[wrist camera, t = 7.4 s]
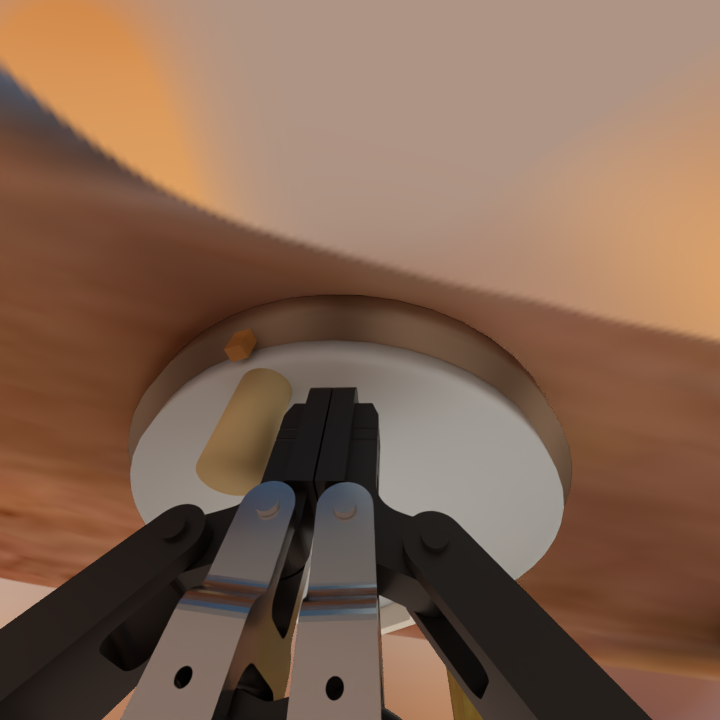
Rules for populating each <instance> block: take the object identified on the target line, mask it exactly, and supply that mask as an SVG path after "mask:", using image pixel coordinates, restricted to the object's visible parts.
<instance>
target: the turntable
mask: <svg viewBox="0 0 720 720" xmlns="http://www.w3.org/2000/svg"><path fill="white" fill-rule="evenodd" d="M320 387H333V388H334V387H357V391H358V401H359V403H373V405H374V407H375V409H376V411H377V412H378V414H379V432H380V472H379V496H380V498H381V499H382V500H383V502H384V503H385V504H387V505H388V506H389V507H391V508H392V509H394V510H396V511H399V512H401V513H404V514H407V515H410V516H415V515H416V514H418V513H421V512H424V511H438V512H441V513H444V514H446V515H448V516H450V517H451V518H453V519H454V520H455V521H456V522H457V523H458V524H459V525H460V526H461V527H462V528H463V529H464V530H465V531H466V532H467V533H468V534H469V535H470V536H471V537H472V538H473V539H474V540H475V541H476V542H477V543H478V544H479V545H480V546H481V547H482V548H483V549H484V550H485V551H486V552H487V553H488V554H489V555H490V556H491V557H492V558H493V559H494V560H495V561H496V562H497V563H498V564H499V565H500V566H501V567H502V568H503V569H504V570H505V571H506V572H507V573H508V574H509V575H510V576H511V577H512V578H513V579H514V580H516V579H518V578H519V577H520V576H522V575H523V574H524V573H525V572H527V571H528V570H529V569H530V568H532V567H533V566H534V565H535V564H536V563H537V562H538V561H539V560H540V558H541V557H542V556H543V555H544V554H545V553H546V552H547V550H548V549H549V547H550V546H551V544H552V542H553V541H554V539H555V537H556V535H557V532H558V530H559V527H560V525H561V521H562V515H563V509H564V500H563V488H562V485H561V482H560V478H559V475H558V472H557V469H556V467H555V465H554V463H553V461H552V459H551V457H550V455H549V453H548V451H547V449H546V447H545V444H544V443H543V441H542V439H541V437H540V436H539V434H538V432H537V430H536V429H535V427H534V425H533V424H532V423H531V421H530V420H529V419H528V418H527V417H526V416H525V414H524V413H523V412H522V411H521V410H520V409H519V407H518V406H517V405H515V404H514V403H513V402H512V401H511V400H509V399H508V398H507V397H506V396H505V395H503V394H502V393H501V392H500V391H499V390H498V389H496V388H495V387H493V386H491V385H490V384H488V383H487V382H485V381H483V380H482V379H480V378H478V377H477V376H475V375H473V374H472V373H470V372H468V371H466V370H463V369H461V368H459V367H457V366H454V365H452V364H450V363H448V362H445V361H443V360H441V359H438V358H434V357H431V356H428V355H425V354H421V353H418V352H415V351H412V350H408V349H404V348H398V347H393V346H387V345H382V344H376V343H370V342H356V341H341V340H325V341H302V342H294V343H288V344H282V345H275V346H269V347H264V348H261V349H257V350H254V351H251V353H250V355H249V357H248V358H245V359H241V360H238V361H234V362H232V361H231V360H230V359H227V360H225V361H223V362H221V363H219V364H216V365H214V366H212V367H210V368H208V369H206V370H205V371H203V372H202V373H200V374H199V375H197V376H196V377H194V378H193V379H191V380H189V381H188V382H187V383H185V384H184V385H183V386H182V387H181V388H180V389H179V390H178V391H177V392H176V393H175V394H174V395H173V396H172V397H170V399H169V400H168V401H167V403H166V404H165V405H164V407H163V408H162V409H161V411H160V412H159V413H158V415H157V416H156V417H155V419H154V420H153V421H152V423H151V424H150V426H149V427H148V428H147V430H146V431H145V433H144V434H143V435H142V437H141V438H140V440H139V443H138V445H137V447H136V450H135V452H134V455H133V459H132V465H131V472H130V478H131V490H132V494H133V497H134V501H135V504H136V507H137V509H138V511H139V513H140V515H141V517H142V519H143V521H144V523H145V524H148V523H149V522H151V521H152V520H153V519H155V518H156V517H158V516H159V515H160V514H162V513H163V512H165V511H166V510H168V509H170V508H172V507H175V506H177V505H182V504H193V505H196V506H198V507H200V508H201V509H202V510H203V512H204V514H209V513H213V512H216V511H220V510H223V509H227V508H230V507H233V506H236V505H238V504H240V503H241V502H242V500H243V498H244V497H245V495H246V494H247V493H248V492H249V491H250V490H251V489H253V488H254V487H256V486H257V485H259V484H260V483H261V480H262V478H263V475H264V472H265V469H266V466H267V463H268V460H269V457H270V455H271V452H272V449H273V446H274V443H275V441H276V437H277V434H278V432H279V430H280V426H281V423H282V420H283V417H284V415H285V413H286V412H287V411H288V410H289V409H290V408H291V407H292V406H293V405H294V404H295V403H306V400H307V397H308V393H309V390H310V388H320ZM312 545H313V541H312ZM311 555H312V546H311ZM309 574H310V569H309V573H308V577H307V581H306V585H305V589H304V593H303V597H302V600H303V599H304V598H305V597H306V595H307V591H308V584H309ZM379 598H380V620H381V635H383V634H386V633H389V632H392V631H395V630H398V629H401V628H404V627H407V626H410V625H413V624H416V623H415V621H414V620H413V618H412V617H411V616H410V614H409V613H408V611H407V609H406V607H404V606H402V605H400V604H398V603H395V602H393V601H391V600H389V599H387V598H384V597H382V596H380V595H379ZM301 603H302V601H301ZM300 607H301V605H300ZM299 612H300V609H299ZM298 618H299V613H298V617H297V621H296V623H297V624H298Z"/></svg>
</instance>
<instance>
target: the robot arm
mask: <svg viewBox="0 0 720 720" xmlns="http://www.w3.org/2000/svg"><path fill="white" fill-rule="evenodd" d="M379 472H380V432H379V414H378V412H377V411H376V409H375V407H374V405H373V403H359V401H358V391H357V387H334V388H333V387H320V388H310V390H309V393H308V397H307V400H306V403H295V404H294V405H293V406H292V407H291V408H290V409H289V410H288V411H287V412H286V413H285V415H284V417H283V420H282V423H281V426H280V430H279V432H278V434H277V437H276V441H275V443H274V446H273V449H272V452H271V455H270V457H269V460H268V463H267V466H266V469H265V472H264V475H263V478H262V480H261V483H260V484H259V485H257V486H256V487H254V488H253V489H251V490H250V491H249V492H248V493H247V494H246V495H245V497H244V498H243V500H242V502H241V503H240V504H238V505H236V506H233V507H230V508H227V509H223V510H220V511H216V512H213V513H209V514H204V512H203V510H202V509H201V508H200V507H198V506H196V505H193V504H182V505H177V506H175V507H172V508H170V509H168V510H166V511H165V512H163V513H162V514H160V515H159V516H158V517H156V518H155V519H153V520H152V521H151V522H149V523H148V524H146V525H145V526H144V527H142V528H141V529H139V530H138V531H137V532H135V533H134V534H132V535H131V536H130V537H128V538H127V539H125V540H124V541H123V542H121V543H120V544H119V545H117V546H116V547H114V548H113V549H112V550H110V551H109V552H107V553H106V554H105V555H103V556H102V557H100V558H99V559H98V560H96V561H95V562H93V563H92V564H91V565H89V566H88V567H86V568H85V569H84V570H82V571H81V572H79V573H78V574H77V575H75V576H74V577H72V578H71V579H70V580H68V581H67V582H65V583H64V584H63V585H61V586H60V587H58V588H57V589H56V590H54V591H53V592H52V593H50V594H49V595H48V596H46V597H45V598H43V599H42V600H40V601H39V602H38V603H36V604H35V605H33V606H32V607H31V608H29V609H28V610H26V611H25V612H24V613H22V614H21V615H19V616H18V617H17V618H15V619H14V620H13V621H11V622H10V623H8V624H7V625H6V626H4V627H3V628H1V629H0V720H102V719H103V718H104V717H105V716H106V715H107V714H108V713H109V712H110V711H111V710H112V709H113V708H114V707H115V706H116V705H117V704H118V703H119V702H120V701H121V700H123V699H124V698H125V697H126V696H127V695H128V694H129V693H130V692H131V691H132V690H133V689H134V688H135V687H136V686H137V687H136V689H135V691H134V693H133V695H132V697H131V699H130V701H129V703H128V705H127V707H126V709H125V711H124V713H123V715H122V717H121V719H120V720H402V719H401V718H400V717H398V716H397V715H395V714H394V713H392V712H391V711H389V710H388V709H386V708H385V699H384V677H383V659H382V642H381V620H380V598H379V595H380V596H382V597H384V598H387V599H389V600H391V601H393V602H395V603H398V604H400V605H402V606H404V607H406V609H407V611H408V613H409V614H410V616H411V617H412V618H413V620H414V621H415V623H416V624H417V626H418V627H419V628H420V630H421V631H422V633H423V634H424V636H425V637H426V638H427V640H428V641H429V643H430V644H431V646H432V647H433V648H434V650H435V651H436V653H437V654H438V656H439V657H440V658H441V660H442V661H443V663H444V664H445V665H446V667H447V668H448V670H449V671H450V673H451V674H452V676H453V677H454V679H455V680H456V681H457V683H458V684H459V686H460V687H461V689H462V690H463V691H464V693H465V694H466V696H467V697H468V699H469V700H470V701H471V703H472V704H473V706H474V707H475V709H476V710H477V711H478V713H479V714H480V716H481V717H482V719H483V720H652V719H651V718H650V717H649V716H648V715H647V714H646V713H645V712H644V711H643V710H642V709H641V708H640V707H639V706H638V705H637V704H636V703H635V702H634V701H633V700H632V699H631V698H630V697H629V696H628V695H627V694H626V693H625V692H624V691H623V690H622V689H621V687H620V686H619V685H618V684H617V683H616V682H615V681H614V680H613V679H612V678H610V676H609V675H607V673H606V672H605V671H604V670H603V669H602V668H601V667H600V666H599V665H598V664H597V663H596V662H595V661H594V660H593V659H592V658H591V657H590V656H589V655H588V654H587V653H586V652H585V651H584V650H583V649H582V648H581V647H580V646H579V645H578V644H577V643H576V642H575V641H574V640H573V639H572V638H571V637H570V636H569V635H568V634H567V633H566V632H565V631H564V630H563V629H562V628H561V627H560V626H559V625H558V624H557V623H556V622H555V621H554V620H553V619H552V618H551V617H550V616H549V615H548V614H547V613H546V612H545V611H544V610H543V609H542V608H541V607H540V606H539V605H538V604H537V603H536V602H535V600H534V599H533V598H532V597H531V596H530V595H529V594H528V593H527V592H526V591H525V590H524V589H523V588H522V587H521V586H520V585H519V584H518V583H517V582H516V581H515V580H514V579H513V578H512V577H511V576H510V575H509V574H508V573H507V572H506V571H505V570H504V569H503V568H502V567H501V566H500V565H499V564H498V563H497V562H496V561H495V560H494V559H493V558H492V557H491V556H490V555H489V554H488V553H487V552H486V551H485V550H484V549H483V548H482V547H481V546H480V545H479V544H478V543H477V542H476V541H475V540H474V539H473V538H472V537H471V536H470V535H469V534H468V533H467V532H466V531H465V530H464V529H463V528H462V527H461V526H460V525H459V524H458V523H457V522H456V521H455V520H454V519H453V518H451V517H450V516H448V515H446V514H444V513H441V512H438V511H424V512H421V513H418V514H416V515H415V516H410V515H407V514H404V513H401V512H399V511H396V510H394V509H392V508H391V507H389V506H388V505H387V504H385V503H384V502H383V500H382V499H381V498H380V496H379ZM312 541H313V545H312ZM311 546H312V555H311ZM309 569H310V574H309V584H308V591H307V595H306V597H305V598H304V599H303V600H302V597H303V593H304V589H305V585H306V581H307V577H308V573H309ZM301 601H302V603H301ZM300 605H301V607H300ZM299 609H300V612H299ZM298 613H299V618H298V626H297V635H296V643H295V653H294V660H293V669H292V678H291V687H290V696H289V697H286V698H284V696H285V692H286V687H287V682H288V678H289V672H290V663H291V662H290V661H291V643H292V637H293V633H294V629H295V625H296V621H297V617H298Z"/></svg>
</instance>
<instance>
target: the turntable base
mask: <svg viewBox="0 0 720 720" xmlns="http://www.w3.org/2000/svg"><path fill="white" fill-rule="evenodd" d="M325 340H341V341H356V342H370V343H376V344H382V345H387V346H393V347H398V348H404V349H408V350H412V351H415V352H418V353H421V354H425V355H428V356H431V357H434V358H438V359H441V360H443V361H445V362H448V363H450V364H452V365H454V366H457V367H459V368H461V369H463V370H466V371H468V372H470V373H472V374H473V375H475V376H477V377H478V378H480V379H482V380H483V381H485V382H487V383H488V384H490V385H491V386H493V387H495V388H496V389H498V390H499V391H500V392H501V393H502V394H503V395H505V396H506V397H507V398H508V399H509V400H511V401H512V402H513V403H514V404H515V405H517V406H518V407H519V409H520V410H521V411H522V412H523V413H524V414H525V416H526V417H527V418H528V419H529V420H530V421H531V423H532V424H533V425H534V427H535V429H536V430H537V432H538V434H539V436H540V437H541V439H542V441H543V443H544V444H545V447H546V449H547V451H548V453H549V455H550V457H551V459H552V461H553V463H554V465H555V467H556V469H557V472H558V475H559V478H560V482H561V485H562V488H563V500H564V506H565V503H566V500H567V497H568V494H569V490H570V487H571V476H572V463H571V456H570V449H569V445H568V442H567V440H566V437H565V434H564V432H563V429H562V426H561V424H560V423H559V421H558V419H557V417H556V416H555V414H554V412H553V410H552V409H551V407H550V405H549V403H548V402H547V400H546V398H545V396H544V395H543V393H542V392H541V390H540V388H539V387H538V385H537V384H536V382H535V381H534V379H533V377H532V376H531V375H530V374H529V373H528V372H527V371H526V369H525V368H524V367H523V366H522V365H521V364H520V363H519V362H518V361H517V360H516V359H515V357H514V356H512V355H511V354H510V353H508V352H507V351H506V350H505V349H503V348H502V347H501V346H500V345H498V344H497V343H496V342H495V341H493V340H492V339H491V338H489V337H487V336H486V335H484V334H482V333H480V332H479V331H477V330H475V329H473V328H472V327H470V326H468V325H466V324H465V323H463V322H460V321H458V320H455V319H453V318H451V317H448V316H446V315H443V314H441V313H438V312H436V311H433V310H431V309H427V308H423V307H419V306H416V305H412V304H408V303H404V302H401V301H397V300H390V299H383V298H375V297H368V296H361V295H318V296H308V297H299V298H290V299H285V300H281V301H276V302H272V303H268V304H264V305H260V306H256V307H253V308H251V309H248V310H245V311H243V312H240V313H238V314H235V315H233V316H230V317H228V318H226V319H224V320H222V321H220V322H219V323H217V324H215V325H213V326H212V327H210V328H208V329H206V330H205V331H203V332H201V333H200V334H199V335H198V336H197V337H195V338H194V339H193V340H192V341H190V342H189V343H188V344H187V345H186V346H184V347H183V348H182V349H181V350H180V351H179V352H178V354H177V355H176V356H175V357H174V358H173V359H172V361H171V362H170V363H169V364H168V365H167V367H166V368H165V369H164V370H163V371H162V372H161V374H160V375H159V376H158V377H157V378H156V380H155V381H154V382H153V383H152V384H151V385H150V387H149V388H148V389H147V390H146V391H145V393H144V395H143V397H142V398H141V400H140V402H139V404H138V406H137V408H136V410H135V412H134V415H133V419H132V422H131V426H130V430H129V443H128V453H129V459H130V465H132V459H133V455H134V452H135V450H136V447H137V445H138V443H139V440H140V438H141V437H142V435H143V434H144V433H145V431H146V430H147V428H148V427H149V426H150V424H151V423H152V421H153V420H154V419H155V417H156V416H157V415H158V413H159V412H160V411H161V409H162V408H163V407H164V405H165V404H166V403H167V401H168V400H169V399H170V397H172V396H173V395H174V394H175V393H176V392H177V391H178V390H179V389H180V388H181V387H182V386H183V385H184V384H185V383H187V382H188V381H189V380H191V379H193V378H194V377H196V376H197V375H199V374H200V373H202V372H203V371H205V370H206V369H208V368H210V367H212V366H214V365H216V364H219V363H221V362H223V361H225V360H227V359H230V360H231V361H232V362H234V361H238V360H241V359H245V358H248V357H249V355H250V353H251V351H254V350H257V349H261V348H264V347H269V346H275V345H282V344H288V343H294V342H302V341H325Z"/></svg>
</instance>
